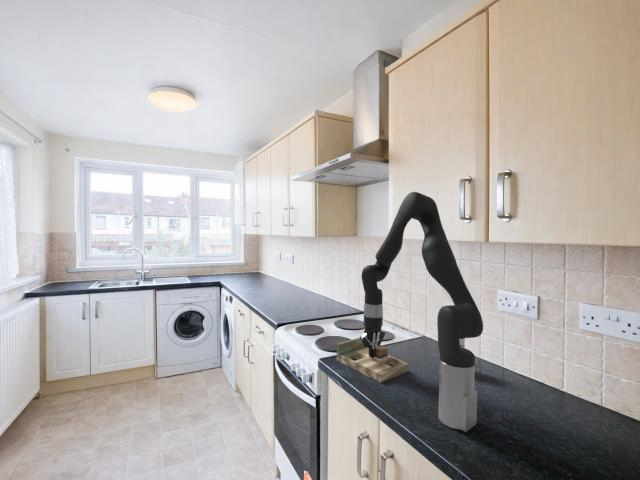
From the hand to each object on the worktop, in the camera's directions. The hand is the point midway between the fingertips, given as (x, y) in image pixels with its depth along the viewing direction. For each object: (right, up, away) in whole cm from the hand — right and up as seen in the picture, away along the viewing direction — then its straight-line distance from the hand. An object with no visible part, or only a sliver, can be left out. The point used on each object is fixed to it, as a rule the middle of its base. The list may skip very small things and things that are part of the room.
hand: (372, 357), depth 125 cm
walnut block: (+3, -1, +4) cm, 5 cm away
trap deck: (0, -4, 0) cm, 4 cm away
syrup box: (+33, -5, -2) cm, 33 cm away
